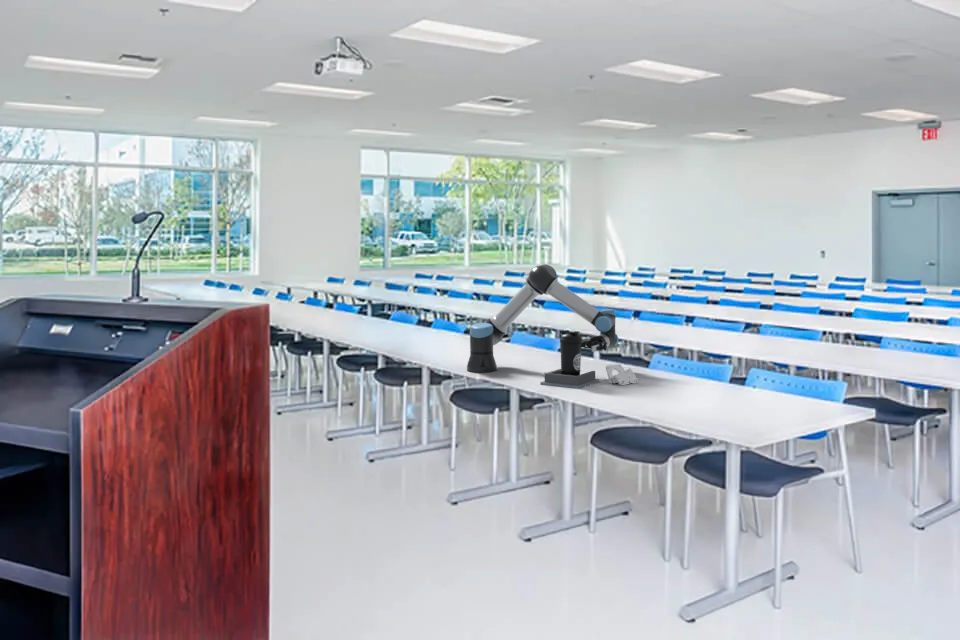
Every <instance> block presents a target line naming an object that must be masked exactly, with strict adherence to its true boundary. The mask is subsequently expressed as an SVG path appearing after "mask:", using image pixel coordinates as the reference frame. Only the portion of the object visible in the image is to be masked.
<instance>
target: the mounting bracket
mask: <svg viewBox="0 0 960 640" xmlns="http://www.w3.org/2000/svg"><path fill="white" fill-rule="evenodd" d="M614 370H616V371H617V372H618V373H617V374H615V375H613V371H614ZM605 371H606V373H607V374H606V375H607V377H608V381H609V384H610V383H611V385H613V384H612V383H617V384H619V386H624V385H623V384H629V385H630V383H636V384H638V383H637V382H639V378H638V377H637V376H636V375H635V373H634V371H633V369H632V368H627V369H624V367H623V366H622V364H620V363H617V364H611V365H610V364H608V365H606V366H605Z"/></svg>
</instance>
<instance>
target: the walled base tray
mask: <svg viewBox="0 0 960 640" xmlns="http://www.w3.org/2000/svg"><path fill="white" fill-rule="evenodd" d="M598 381H599V382H600V379H597V378H596V370H591V371H587V372H584V373H582V374H581V373H580V375H578V376H572V375H562V374H561V368H559V369H555V370H553V371H548V372H544V381H543V380H542V381H540V382H539V383H540V385H541V386H542V385H543V386H549V387H550V386H553V387H560V388H570V389H583V388H585V386H586V387H588V386H591V385H594V384H596V382H597V383H599V382H598ZM593 383H594V384H593ZM590 384H591V385H590Z"/></svg>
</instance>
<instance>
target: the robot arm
mask: <svg viewBox="0 0 960 640" xmlns="http://www.w3.org/2000/svg"><path fill="white" fill-rule="evenodd" d="M529 271H530V272H529V274H528V276H527V277H526V278H525V284H524V285H523V286H522V287H521V288H520V289H519V290H518V291H517V292H516V293H515V295H513V297H512V298H511V299H510V300H509V301H508V302H507V303H506V304H505V305H504V306H503V308H501V309H500V311H498V313H497V314H495V316H490V317H489V318H488V319H487V320H486V321H485V322H478V323H474V324H472V325H471V326H470V328H469V346H470V347H469V350H470V351H469V352H470V353H469V354H470V355H469V359H468V362H467V365H466V370H467V371H468V372H471V373H490V372H491V373H492V372H495V371H497V370H498V369H497V368H498V367H497V366H498V365H497V362H496V359H495V356H494V346H495V345H497V344H499V343H500V341H501V340H502V339H503V337H504V336H505V334H507V332H508V327H509V326H510V325H512V323H513V322H514V321H515V320H516V319H517V318H518V317H519V316H520V315H521V314H522V312H524V311H525V309H526V308H527V307H529V305H530V304H531V303H532V302H533V301H534V300H535V299H536V298H537V297H538V296H542V295H545V296H546V295H547V296H551V297H552V298H553V299H555V300H556V301H558V303H560V304H562V305H564V306H565V307H567V308H568V309H569V310H570V311H572V312H574V313H575V314H577V315H578V316H579V317H581V318H582V319H583V320H585V321H586V322H588V323H589V324H590V325H592V326H593V327H595V328H596V330H597V331H598V332H599V334H598V335H593V336H592V337H590V339H589V340H582V343H581V348H583V349H591V353H594V352H602V351H607V349H612V348H613V347H616V346H617V345H618V344H619V336H618V334H617V332H616V317H617V316H616V310H615V309H611V308H610V309H609V308H607V309H606V308H605V309H601V310H599V309H598V308H596V307H594V306H593V305H592V304H591V303H589V302H588V301H586V300H585V299H584V298H582V297H580V296H579V295H577V293H575V292H573V291H572V290H570V289H569V288H567V287H566V286H565V285H564V284H562V283H561V282H559V281H558V275H557V271H556V270H555V268H554V267H553V266H551V265H549V264H545V263H544V264H541V265H536V266H534V267H533V268H532V269H530V270H529Z"/></svg>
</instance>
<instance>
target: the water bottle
mask: <svg viewBox="0 0 960 640" xmlns="http://www.w3.org/2000/svg"><path fill="white" fill-rule="evenodd" d="M580 333H581V332H580V331H578V330H575V331H570V330H568V329H567V330H563V331H562V332H561V336H560V337H559V343H560V363H561V364H560V369H561V374H562V375H572V376H578V375H581V365H582V364H581V361H582V360H581V359H582V347H581V343H582V341H583V338H582V336H581V334H580Z"/></svg>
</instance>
